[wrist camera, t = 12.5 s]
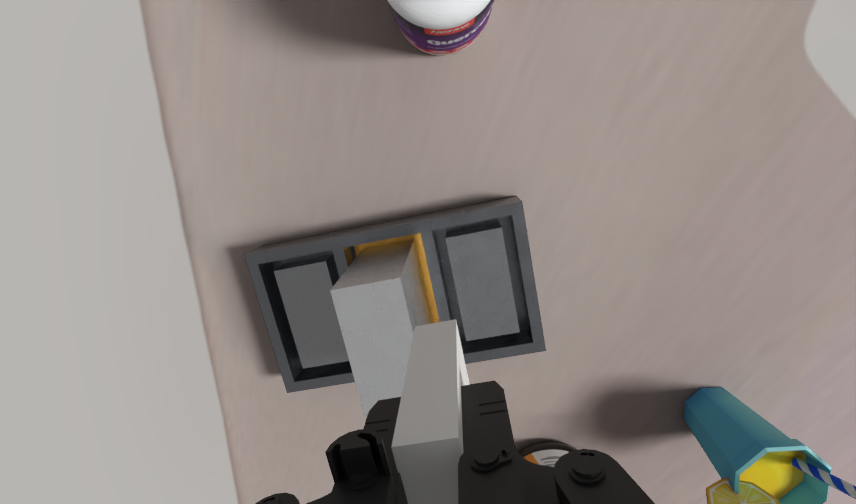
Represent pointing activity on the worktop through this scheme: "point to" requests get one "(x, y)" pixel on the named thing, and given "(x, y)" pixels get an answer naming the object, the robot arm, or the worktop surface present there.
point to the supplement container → (545, 453)
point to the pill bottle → (441, 23)
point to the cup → (755, 455)
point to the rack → (443, 278)
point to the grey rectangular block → (381, 317)
